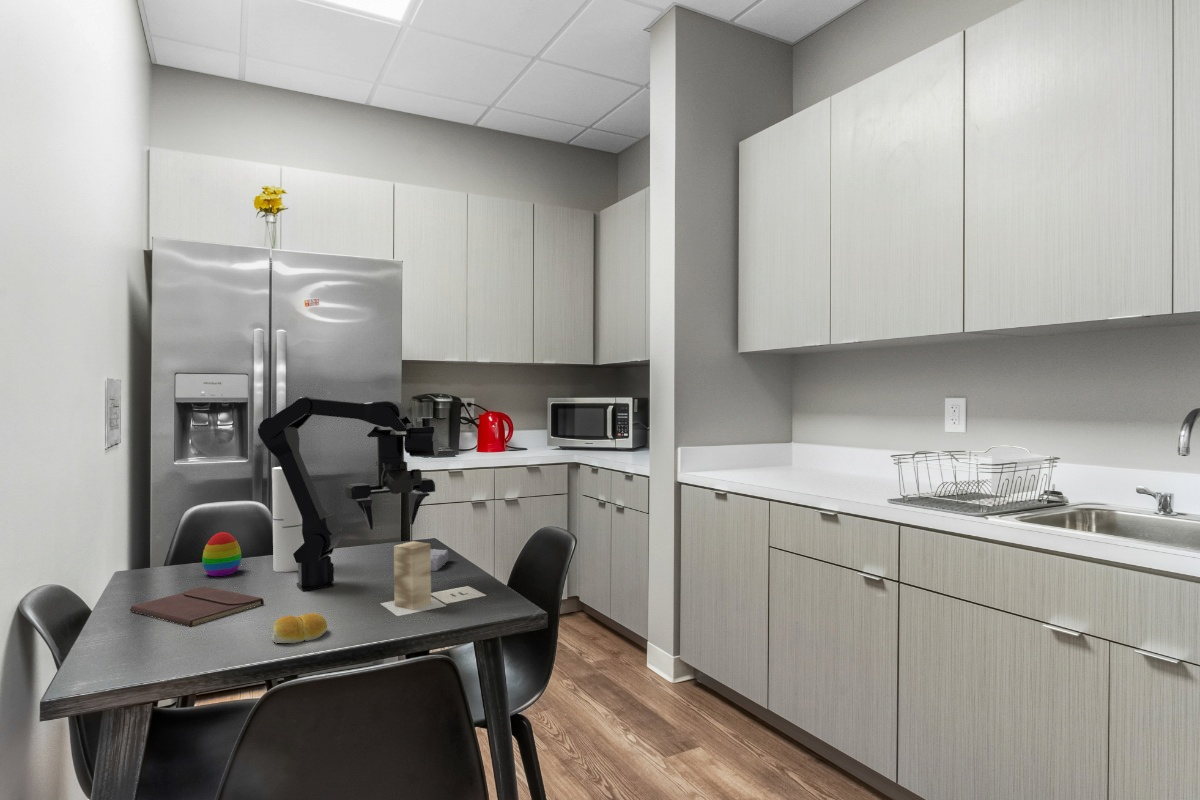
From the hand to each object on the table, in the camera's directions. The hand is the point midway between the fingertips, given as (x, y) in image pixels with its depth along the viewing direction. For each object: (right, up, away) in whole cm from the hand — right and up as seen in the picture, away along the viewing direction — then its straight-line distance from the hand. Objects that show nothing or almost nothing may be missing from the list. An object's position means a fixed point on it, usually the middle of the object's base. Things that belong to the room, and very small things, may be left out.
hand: (391, 526), depth 150 cm
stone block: (+3, -14, +16) cm, 21 cm away
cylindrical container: (-30, -14, +16) cm, 37 cm away
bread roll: (-6, -14, -32) cm, 35 cm away
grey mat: (+9, -13, -16) cm, 22 cm away
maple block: (+9, -13, -16) cm, 22 cm away
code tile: (+17, -13, -9) cm, 23 cm away
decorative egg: (-45, -14, +12) cm, 48 cm away
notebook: (-34, -14, -15) cm, 40 cm away
